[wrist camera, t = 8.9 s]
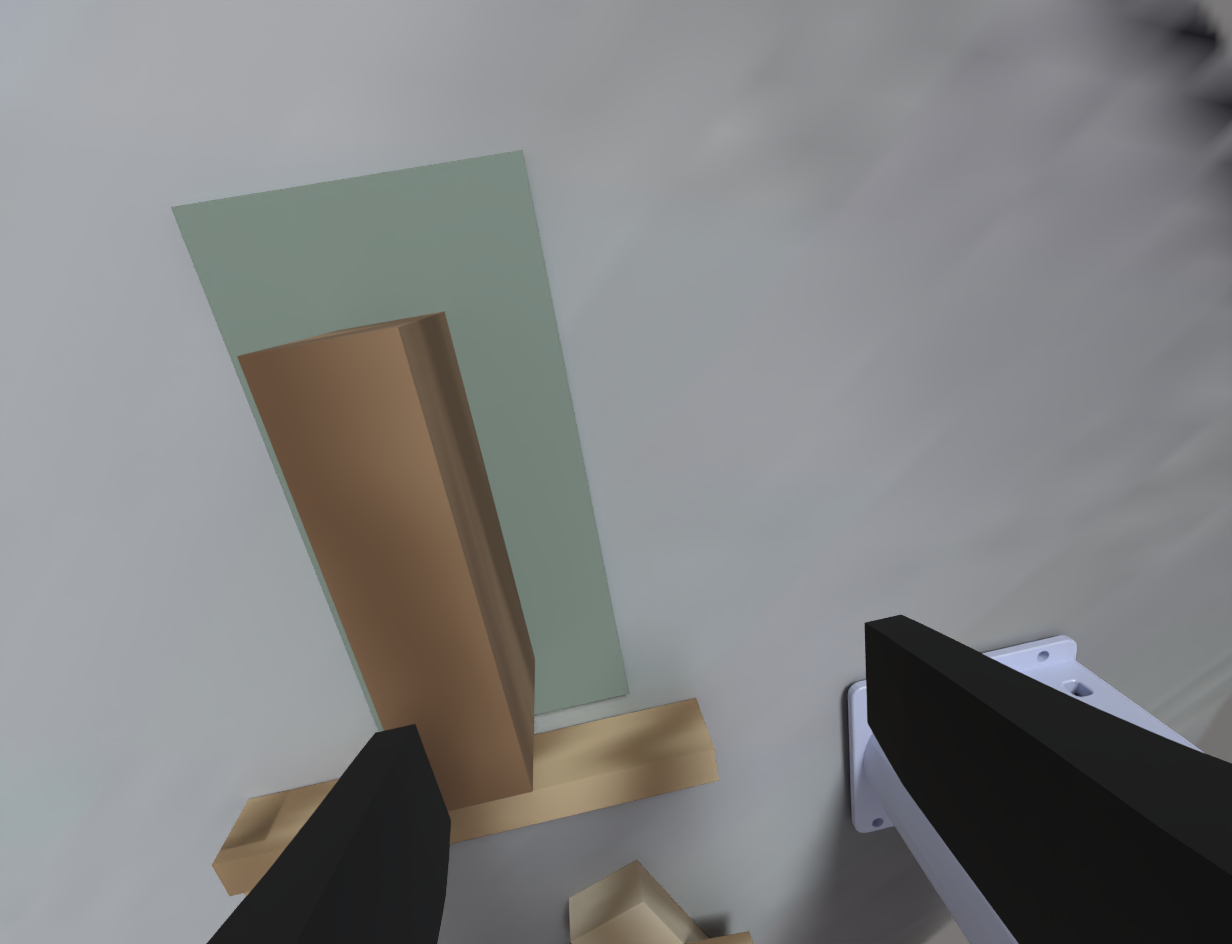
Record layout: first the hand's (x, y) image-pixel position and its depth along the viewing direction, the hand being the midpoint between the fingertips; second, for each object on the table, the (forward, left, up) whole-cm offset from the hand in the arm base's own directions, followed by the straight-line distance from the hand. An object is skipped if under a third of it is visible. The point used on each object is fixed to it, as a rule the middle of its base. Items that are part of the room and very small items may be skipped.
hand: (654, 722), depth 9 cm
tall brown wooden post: (+5, 0, -10) cm, 11 cm away
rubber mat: (+5, -1, -10) cm, 11 cm away
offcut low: (+1, +22, -11) cm, 25 cm away
